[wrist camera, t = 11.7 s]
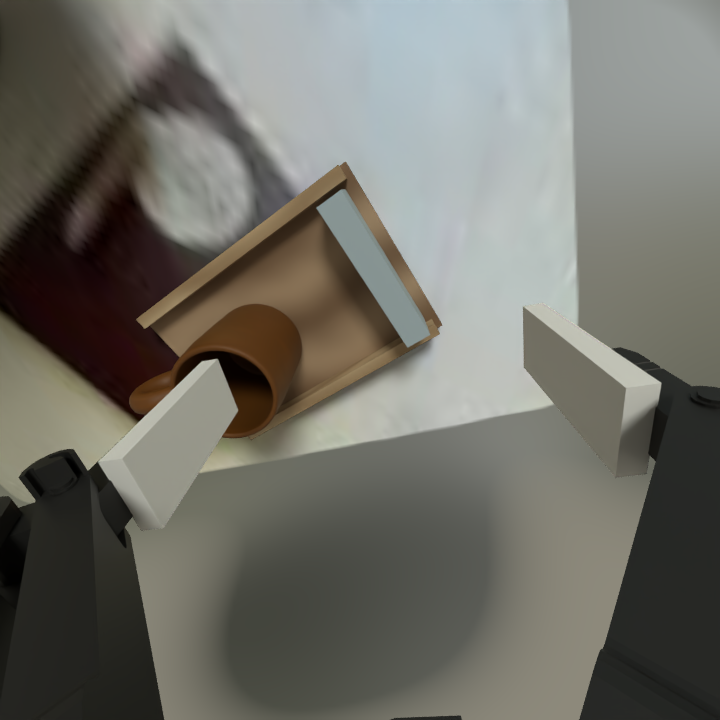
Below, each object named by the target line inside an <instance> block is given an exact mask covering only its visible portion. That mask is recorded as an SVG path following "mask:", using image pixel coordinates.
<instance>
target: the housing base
mask: <svg viewBox="0 0 720 720" xmlns="http://www.w3.org/2000/svg"><path fill="white" fill-rule="evenodd" d="M342 189H346V191H347V192H348V194H349V196H350V197H351V199H352V201H353V202H354V204H355V206H356V207H357V209H358V210H359V212H360V214H361V215H362V217H363V219H364V220H365V222H366V224H367V225H368V227H369V229H370V230H371V232H372V233H373V235H374V237H375V238H376V240H377V242H378V243H379V245H380V247H381V248H382V250H383V251H384V253H385V255H386V256H387V258H388V260H389V261H390V263H391V265H392V266H393V268H394V270H395V271H396V273H397V274H398V276H399V278H400V279H401V281H402V283H403V284H404V286H405V288H406V289H407V291H408V292H409V294H410V296H411V297H412V299H413V301H414V302H415V304H416V306H417V307H418V309H419V311H420V312H421V314H422V315H423V317H424V319H425V322H426V325H427V327H428V330H429V333H430V335H429V336H428V337H426V338H424V339H422V340H420V341H419V342H417V343H415V344H413V345H412V346H410V347H408V348H407V346H406V345H405V343H404V342H403V340H402V338H401V337H400V335H399V334H398V332H397V331H396V329H395V328H394V326H393V325H392V323H391V322H390V320H389V319H388V317H387V315H386V314H385V312H384V311H383V309H382V308H381V306H380V305H379V303H378V302H377V300H376V299H375V297H374V296H373V294H372V292H371V291H370V289H369V288H368V286H367V285H366V283H365V282H364V280H363V279H362V277H361V276H360V274H359V273H358V271H357V269H356V268H355V266H354V265H353V263H352V262H351V260H350V259H349V257H348V256H347V254H346V253H345V251H344V250H343V248H342V246H341V245H340V243H339V242H338V240H337V239H336V237H335V236H334V234H333V233H332V231H331V230H330V228H329V227H328V225H327V224H326V222H325V220H324V219H323V217H322V216H321V214H320V213H319V211H318V210H317V207H318V206H320V205H321V204H322V203H324V202H325V201H326V200H328V199H329V198H330V197H332V196H333V195H334V194H336V193H337V192H338V191H340V190H342ZM248 304H263V305H268V306H271V307H274V308H276V309H278V310H279V311H281V312H282V313H284V314H285V315H286V316H288V317H289V318H290V319H291V321H292V322H293V323H294V325H295V326H296V328H297V330H298V332H299V334H300V338H301V343H302V353H301V358H300V361H299V364H298V366H297V369H296V371H295V374H294V376H293V379H292V381H291V384H290V386H289V388H288V391H287V393H286V396H285V398H284V400H283V402H282V404H281V406H280V408H279V409H278V411H277V412H276V414H275V416H274V418H273V419H272V421H271V422H270V423H269V424H268V425H267V426H266V427H265V428H264V429H262V430H261V431H259V432H257V433H255V434H253V435H250V436H248V437H249V438H250V439H251V440H252V439H254V438H256V437H257V436H259V435H261V434H263V433H264V432H266V431H268V430H270V429H272V428H273V427H275V426H277V425H279V424H281V423H282V422H284V421H286V420H288V419H289V418H291V417H293V416H295V415H297V414H298V413H300V412H302V411H304V410H305V409H307V408H309V407H311V406H313V405H314V404H316V403H318V402H320V401H321V400H323V399H325V398H327V397H329V396H330V395H332V394H334V393H336V392H337V391H339V390H341V389H343V388H345V387H346V386H348V385H350V384H352V383H353V382H355V381H357V380H359V379H361V378H362V377H364V376H366V375H368V374H369V373H371V372H373V371H375V370H377V369H378V368H380V367H382V366H384V365H385V364H387V363H389V362H391V361H393V360H394V359H396V358H398V357H400V356H402V355H403V354H405V353H407V352H409V351H410V350H412V349H414V348H416V347H418V346H419V345H421V344H423V343H425V342H426V341H428V340H430V339H432V338H434V337H435V336H437V335H439V334H440V333H439V331H438V329H437V328H438V327H440V326H442V324H441V322H440V320H439V318H438V316H437V315H436V313H435V311H434V310H433V308H432V306H431V305H430V303H429V301H428V300H427V298H426V296H425V294H424V293H423V291H422V289H421V288H420V286H419V284H418V283H417V281H416V279H415V278H414V276H413V274H412V273H411V271H410V269H409V267H408V266H407V264H406V262H405V261H404V259H403V257H402V256H401V254H400V252H399V251H398V249H397V247H396V246H395V244H394V242H393V240H392V239H391V237H390V235H389V234H388V232H387V230H386V229H385V227H384V225H383V224H382V222H381V220H380V219H379V217H378V215H377V213H376V212H375V210H374V208H373V207H372V205H371V203H370V202H369V200H368V198H367V197H366V195H365V193H364V192H363V190H362V188H361V186H360V185H359V183H358V181H357V180H356V178H355V176H354V175H353V173H352V171H351V170H350V168H349V166H348V165H347V163H346V162H344V163H343V164H342V165H340V166H339V165H337V166H336V167H335V168H333V169H332V170H331V171H329V172H328V173H327V174H326V175H324V176H323V177H322V178H320V179H319V180H318V181H316V182H315V183H314V184H312V185H311V186H310V187H309V188H307V189H306V190H305V191H303V192H302V193H301V194H299V195H298V196H297V197H295V198H294V199H293V200H291V201H290V202H289V203H288V204H286V205H285V206H284V207H282V208H281V209H280V210H278V211H277V212H276V213H274V214H273V215H272V216H271V217H269V218H268V219H267V220H265V221H264V222H263V223H261V224H260V225H259V226H257V227H256V228H255V229H254V230H252V231H251V232H250V233H248V234H247V235H246V236H244V237H243V238H242V239H240V240H239V241H238V242H237V243H235V244H234V245H233V246H231V247H230V248H229V249H227V250H226V251H225V252H223V253H222V254H221V255H220V256H218V257H217V258H216V259H214V260H213V261H212V262H210V263H209V264H208V265H206V266H205V267H204V268H203V269H201V270H200V271H199V272H197V273H196V274H195V275H193V276H192V277H191V278H189V279H188V280H187V281H186V282H184V283H183V284H182V285H180V286H179V287H178V288H176V289H175V290H174V291H172V292H171V293H170V294H169V295H167V296H166V297H165V298H163V299H162V300H161V301H159V302H158V303H157V304H155V305H154V306H153V307H151V308H150V309H149V310H148V311H146V312H145V313H144V314H142V315H141V316H140V317H138V318H137V319H136V320H137V321H138V322H139V323H140V324H141V325H142V326H143V327H144V328H147V327H148V326H151V328H152V329H153V330H154V331H155V332H156V333H157V334H158V335H159V336H160V337H161V338H162V339H163V340H164V341H165V342H166V343H167V344H168V346H169V347H170V348H171V349H172V350H173V351H174V352H175V353H176V354H177V355H178V356H179V357H181V356H182V355H183V354H184V353H185V351H186V350H187V349H188V348H189V347H190V346H191V345H192V344H193V343H194V342H195V341H196V340H197V339H198V338H199V337H201V336H202V335H203V334H204V333H205V332H206V331H207V330H209V329H210V328H211V327H212V326H213V325H214V324H216V323H217V322H218V321H219V320H221V319H222V318H223V317H224V316H225V315H227V314H228V313H229V312H231V311H232V310H234V309H236V308H238V307H240V306H243V305H248Z"/></svg>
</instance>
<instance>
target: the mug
mask: <svg viewBox="0 0 720 720" xmlns="http://www.w3.org/2000/svg"><path fill="white" fill-rule="evenodd" d="M301 353H302V343H301V338H300V334H299V332H298V330H297V328H296V326H295V325H294V323H293V322H292V321H291V319H290V318H289V317H288V316H286V315H285V314H284V313H282V312H281V311H279V310H278V309H276V308H274V307H271V306H268V305H263V304H248V305H243V306H240V307H238V308H236V309H234V310H232V311H231V312H229V313H228V314H227V315H225V316H224V317H223V318H222V319H221V320H219V321H218V322H217V323H216V324H214V325H213V326H212V327H211V328H210V329H209V330H207V331H206V332H205V333H204V334H203V335H202V336H201V337H199V338H198V339H197V340H196V341H195V342H194V343H193V344H192V345H191V346H190V347H189V348H188V349H187V350H186V351H185V353H184V354H183V355H182V356H181V357H180V358H179V359H178V361H177V362H176V363H175V365H174V367H173V369H172V370H171V371H168V372H165V373H163V374H160V375H158V376H156V377H154V378H152V379H150V380H148V381H147V382H145V383H143V384H142V385H140V386H139V387H138V388H137V389H136V390H135V391H134V392H133V393H132V394H131V396H130V400H129V403H130V406H131V408H132V409H133V410H134V411H135V412H136V413H138V414H148V413H149V412H150V411H151V410H152V409H153V408H154V407H155V406H156V405H157V404H158V403H159V402H160V401H161V400H162V399H163V398H165V397H166V396H167V395H168V394H169V393H170V392H171V391H172V390H173V389H174V388H175V387H176V386H177V385H178V384H179V383H180V382H181V381H182V380H183V379H184V378H185V377H186V376H187V375H188V374H189V373H190V372H191V371H192V370H193V369H195V368H196V367H197V366H198V365H199V364H200V363H201V362H202V361H207V360H213V359H218V361H219V363H220V366H221V368H222V371H223V373H224V376H225V378H226V381H227V383H228V386H229V388H230V391H231V393H232V396H233V398H234V401H235V403H236V406H237V408H238V412H237V413H236V415H235V417H234V418H233V420H232V421H231V423H230V424H229V426H228V428H227V429H226V431H225V432H224V434H223V435H222V437H224V438H242V437H247V436H250V435H253V434H255V433H257V432H259V431H261V430H262V429H264V428H265V427H266V426H267V425H268V424H269V423H270V422H271V421H272V419H273V418H274V416H275V414H276V412H277V411H278V409H279V408H280V406H281V404H282V402H283V400H284V398H285V396H286V393H287V391H288V388H289V386H290V384H291V381H292V379H293V376H294V374H295V371H296V369H297V366H298V364H299V361H300V358H301Z"/></svg>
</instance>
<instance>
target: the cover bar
mask: <svg viewBox="0 0 720 720" xmlns="http://www.w3.org/2000/svg"><path fill="white" fill-rule="evenodd" d="M317 210H318V211H319V213H320V214H321V216H322V217H323V219H324V220H325V222H326V224H327V225H328V227H329V228H330V230H331V231H332V233H333V234H334V236H335V237H336V239H337V240H338V242H339V243H340V245H341V246H342V248H343V250H344V251H345V253H346V254H347V256H348V257H349V259H350V260H351V262H352V263H353V265H354V266H355V268H356V269H357V271H358V273H359V274H360V276H361V277H362V279H363V280H364V282H365V283H366V285H367V286H368V288H369V289H370V291H371V292H372V294H373V296H374V297H375V299H376V300H377V302H378V303H379V305H380V306H381V308H382V309H383V311H384V312H385V314H386V315H387V317H388V319H389V320H390V322H391V323H392V325H393V326H394V328H395V329H396V331H397V332H398V334H399V335H400V337H401V338H402V340H403V342H404V343H405V345H406V346H407V348H408V347H410V346H412V345H413V344H415V343H417V342H419V341H420V340H422V339H424V338H426V337H428V336H429V335H430V333H429V330H428V327H427V325H426V322H425V319H424V317H423V315H422V314H421V312H420V311H419V309H418V307H417V306H416V304H415V302H414V301H413V299H412V297H411V296H410V294H409V292H408V291H407V289H406V288H405V286H404V284H403V283H402V281H401V279H400V278H399V276H398V274H397V273H396V271H395V270H394V268H393V266H392V265H391V263H390V261H389V260H388V258H387V256H386V255H385V253H384V251H383V250H382V248H381V247H380V245H379V243H378V242H377V240H376V238H375V237H374V235H373V233H372V232H371V230H370V229H369V227H368V225H367V224H366V222H365V220H364V219H363V217H362V215H361V214H360V212H359V210H358V209H357V207H356V206H355V204H354V202H353V201H352V199H351V197H350V196H349V194H348V192H347V191H346V189H342V190H340V191H338V192H337V193H336V194H334V195H333V196H332V197H330V198H329V199H328V200H326V201H325V202H324V203H322V204H321V205H320V206H318V207H317Z"/></svg>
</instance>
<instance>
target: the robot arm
mask: <svg viewBox="0 0 720 720" xmlns="http://www.w3.org/2000/svg"><path fill="white" fill-rule="evenodd" d="M523 337H524V368H525V369H526V370H527V372H528V373H529V374H530V375H531V376H532V378H533V379H534V380H535V381H536V382H537V384H538V385H539V386H540V387H541V388H542V390H543V391H544V392H545V393H546V394H547V396H548V397H549V398H550V399H551V400H552V402H553V403H554V404H555V405H556V406H557V408H558V409H559V410H560V411H561V412H562V414H563V415H564V416H565V417H566V419H567V420H568V421H569V422H570V423H571V425H572V426H573V427H574V428H575V429H576V430H577V432H578V433H579V434H580V435H581V436H582V438H583V439H584V440H585V441H586V443H587V444H588V445H589V446H590V447H591V449H592V450H593V451H594V452H595V453H596V455H597V456H598V457H599V458H600V460H601V461H602V462H603V463H604V464H605V466H607V468H608V469H609V470H610V472H611V473H612V474H613V475H614V476H615V477H624V476H633V475H641V474H647V468H648V462H649V456H651V457H652V458H653V459H654V460H655V461H656V463H655V467H654V470H653V474H652V478H651V481H650V484H649V488H648V491H647V495H646V499H645V502H644V506H643V509H642V513H641V516H640V520H639V524H638V527H637V531H636V534H635V538H634V542H633V545H632V549H631V552H630V556H629V559H628V563H627V567H626V570H625V574H624V577H623V581H622V584H621V588H620V592H619V595H618V599H617V602H616V606H615V610H614V613H613V617H612V620H611V624H610V628H609V631H608V634H607V638H606V641H605V644H604V647H603V649H601V650H600V652H599V655H598V658H597V661H596V664H595V667H594V670H593V674H592V677H591V681H590V684H589V688H588V691H587V695H586V698H585V702H584V705H583V709H582V712H581V716H580V719H579V720H720V388H717V387H708V386H690V385H689V384H687V383H685V382H683V381H682V380H681V379H679V378H677V377H675V376H674V375H672V374H671V373H669V372H667V371H666V370H664V369H661V368H660V366H658V365H656V364H655V363H653V362H650V360H648V359H647V358H645V357H644V356H642V355H640V354H639V353H636V352H633V351H630V350H627V349H623V348H613V349H610V348H609V347H607V346H606V345H605V344H603V343H602V342H600V341H599V340H597V339H595V338H594V337H592V336H591V335H590V334H588V333H587V332H585V331H584V330H582V329H581V328H579V327H578V326H576V325H575V324H573V323H572V322H571V321H569V320H568V319H566V318H565V317H563V316H562V315H560V314H559V313H557V312H556V311H554V310H553V309H551V308H550V307H548V306H547V305H545V304H544V303H540V304H534V305H528V306H523ZM237 412H238V408H237V406H236V403H235V401H234V398H233V396H232V393H231V391H230V388H229V386H228V383H227V381H226V378H225V376H224V373H223V371H222V368H221V366H220V363H219V361H218V359H213V360H207V361H202V362H201V363H200V364H199V365H198V366H197V367H196V368H195V369H193V370H192V371H191V372H190V373H189V374H188V375H187V376H186V377H185V378H184V379H183V380H182V381H181V382H180V383H179V384H178V385H177V386H176V387H175V388H174V389H173V390H172V391H171V392H170V393H169V394H168V395H167V396H166V397H165V398H163V399H162V400H161V401H160V402H159V403H158V404H157V405H156V406H155V407H154V408H153V409H152V410H151V411H150V412H149V413H148V414H147V415H146V416H145V417H144V418H143V419H142V420H141V421H140V422H139V423H138V424H137V425H136V426H135V427H133V428H132V429H131V430H130V431H129V432H128V433H127V434H126V435H125V436H124V437H123V438H122V439H121V440H120V441H119V442H118V443H117V444H115V445H114V446H113V447H112V449H110V450H109V451H108V452H107V453H106V454H105V455H104V456H103V457H102V458H101V459H100V460H99V461H98V462H97V463H96V464H95V465H94V466H93V467H92V468H91V469H90V470H89V471H88V470H87V469H86V467H85V466H84V464H83V463H82V461H81V460H80V458H79V457H78V455H77V454H76V452H75V451H74V450H73V449H66V450H61V451H58V452H55V453H52V454H50V455H48V456H46V457H44V458H42V459H40V460H38V461H36V462H35V463H33V464H32V465H30V466H29V467H28V468H27V469H25V470H24V471H23V472H22V473H21V475H20V476H19V479H20V480H21V481H22V483H23V484H24V485H25V487H26V488H27V489H28V490H29V492H30V493H31V494H32V496H33V497H34V498H35V500H36V502H35V503H32V504H29V505H26V506H23V507H20V508H18V507H17V506H16V504H15V503H14V502H13V501H12V499H11V498H10V497H8V496H7V497H6V496H5V497H0V720H164V716H163V711H162V705H161V700H160V694H159V689H158V683H157V678H156V673H155V668H154V662H153V657H152V651H151V646H150V640H149V635H148V629H147V624H146V618H145V613H144V608H143V602H142V597H141V592H140V586H139V581H138V575H137V570H136V564H135V559H134V554H133V549H132V543H131V537H130V535H129V533H128V532H127V530H126V529H125V526H126V524H127V523H128V522H129V520H130V519H131V518H132V517H133V518H134V520H135V522H136V523H137V525H138V527H139V528H140V530H141V531H143V530H151V529H161V528H164V526H165V525H166V523H167V522H168V520H169V519H170V517H171V515H172V514H173V512H174V511H175V509H176V508H177V506H178V505H179V503H180V501H181V500H182V498H183V497H184V495H185V493H186V492H187V490H188V489H189V487H190V486H191V484H192V482H193V481H194V479H195V478H196V476H197V475H198V473H199V472H200V470H201V468H202V467H203V465H204V464H205V462H206V461H207V459H208V457H209V456H210V454H211V453H212V451H213V450H214V448H215V446H216V445H217V443H218V442H219V440H220V439H221V437H222V435H223V434H224V432H225V431H226V429H227V428H228V426H229V424H230V423H231V421H232V420H233V418H234V417H235V415H236V413H237ZM391 720H462V719H461V716H438V717H411V718H394V719H391Z"/></svg>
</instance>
